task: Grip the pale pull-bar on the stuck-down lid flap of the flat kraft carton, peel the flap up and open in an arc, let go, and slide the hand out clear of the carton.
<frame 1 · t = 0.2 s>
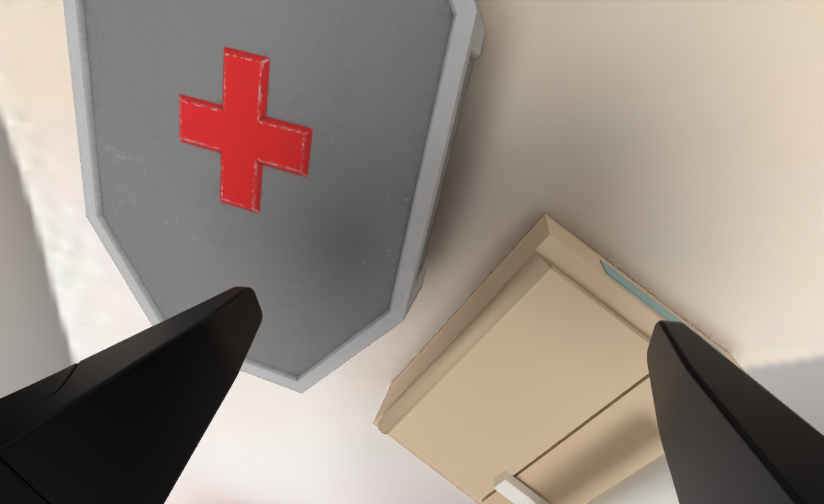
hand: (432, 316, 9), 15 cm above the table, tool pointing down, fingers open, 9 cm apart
first aid kit: (320, 126, 24), on the table
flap: (528, 438, 20), point 7 cm above the table, hinge at 0.0°
carton: (539, 371, 26), on the table
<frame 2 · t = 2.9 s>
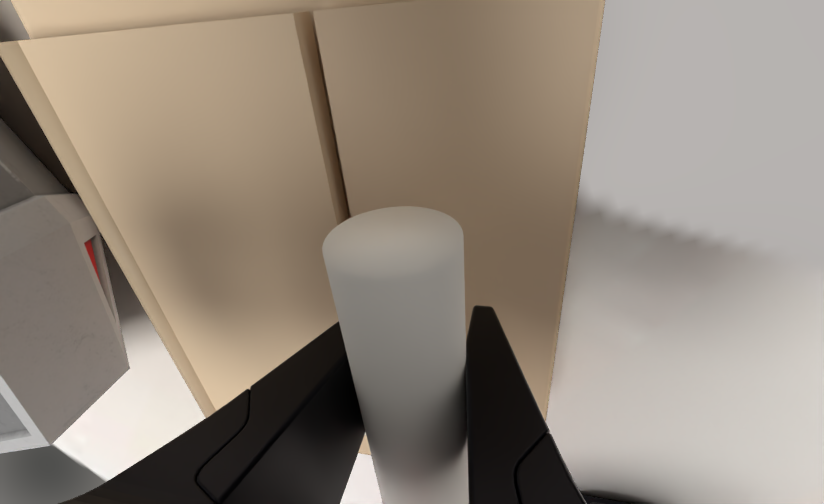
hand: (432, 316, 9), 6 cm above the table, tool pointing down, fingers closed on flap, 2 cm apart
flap: (255, 344, 10), point 7 cm above the table, hinge at 0.0°, touching gripper
carton: (372, 222, 15), on the table
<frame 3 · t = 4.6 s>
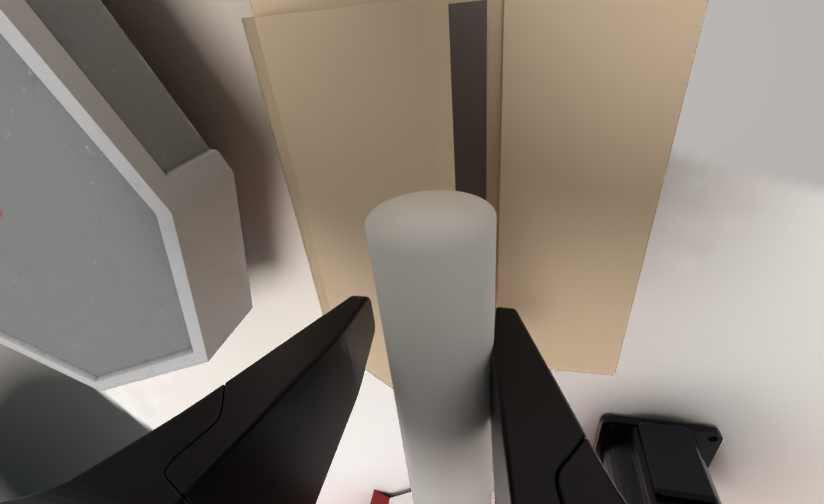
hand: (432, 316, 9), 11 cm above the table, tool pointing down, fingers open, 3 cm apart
first aid kit: (86, 102, 21), on the table
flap: (354, 286, 12), point 9 cm above the table, hinge at 30.2°, touching gripper
carton: (471, 173, 19), on the table
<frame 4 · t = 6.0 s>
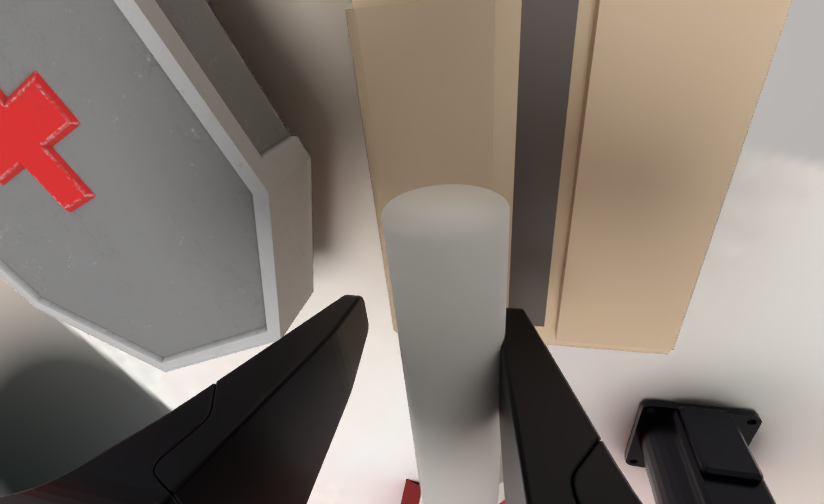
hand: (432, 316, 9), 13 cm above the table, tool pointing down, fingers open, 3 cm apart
first aid kit: (155, 94, 22), on the table
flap: (406, 270, 13), point 10 cm above the table, hinge at 47.0°, touching gripper
carton: (530, 161, 20), on the table
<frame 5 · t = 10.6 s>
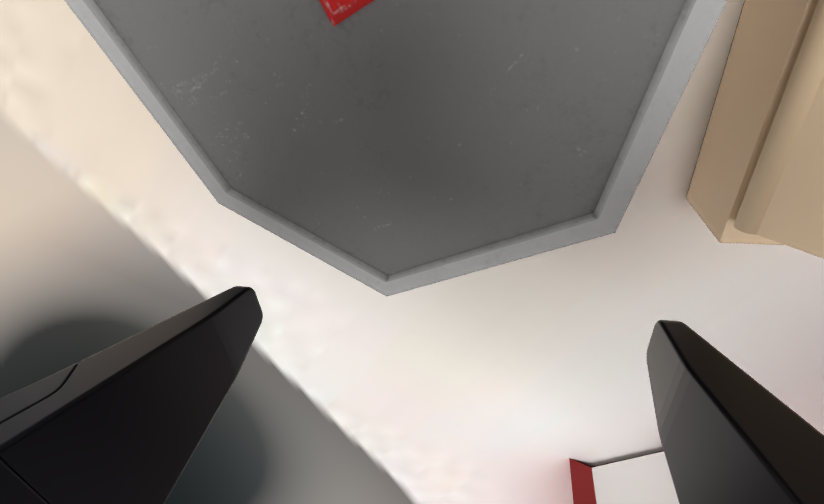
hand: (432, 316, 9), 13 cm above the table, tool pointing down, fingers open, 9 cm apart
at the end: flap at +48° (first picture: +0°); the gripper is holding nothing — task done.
